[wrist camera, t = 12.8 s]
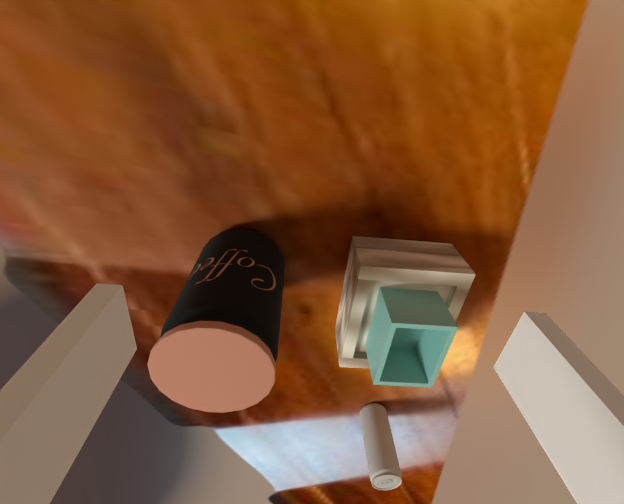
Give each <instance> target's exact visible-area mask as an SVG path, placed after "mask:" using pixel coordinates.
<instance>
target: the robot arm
mask: <svg viewBox="0 0 624 504" xmlns="http://www.w3.org/2000/svg"><path fill="white" fill-rule="evenodd" d="M136 349H137V347H136V342H135V338H134V334H133V329H132V325H131V321H130V316H129V312H128V307H127V303H126V299H125V294H124V290H123V286H122V285H110V284H96V285H95V286H94V287H93V288H92V289H91V290H90V292H89V293H88V294H87V295H86V296H85V297H84V298H83V299H82V300H81V302H80V303H79V304H78V305H77V306H76V307H75V308H74V309H73V310H72V312H71V313H70V314H69V315H68V316H67V317H66V318H65V319H64V320H63V321H62V323H61V324H60V325H59V326H58V327H57V328H56V329H55V331H54V332H53V333H52V334H51V335H50V336H49V337H48V338H47V339H46V340H45V342H44V343H43V344H42V345H41V346H40V347H39V348H38V349H37V350H36V352H35V353H34V354H33V355H32V356H31V357H30V358H29V359H28V360H27V361H26V363H25V364H24V365H23V366H22V367H21V368H20V369H19V370H18V371H17V373H16V374H15V375H14V376H13V377H12V378H11V379H10V380H9V382H8V383H7V384H6V385H5V386H4V387H3V388H2V389H1V390H0V504H50V502H51V500H52V498H53V497H54V495H55V493H56V491H57V490H58V488H59V486H60V484H61V483H62V481H63V479H64V477H65V476H66V474H67V472H68V470H69V468H70V467H71V465H72V463H73V461H74V459H75V458H76V456H77V454H78V452H79V451H80V449H81V447H82V445H83V444H84V442H85V440H86V438H87V436H88V435H89V433H90V431H91V429H92V428H93V426H94V424H95V422H96V420H97V418H98V417H99V415H100V413H101V411H102V410H103V408H104V406H105V404H106V403H107V401H108V399H109V397H110V396H111V394H112V392H113V390H114V388H115V387H116V385H117V383H118V381H119V380H120V378H121V376H122V374H123V373H124V371H125V369H126V367H127V365H128V364H129V362H130V360H131V358H132V357H133V355H134V353H135V351H136ZM494 369H495V370H496V372H497V374H498V375H499V377H500V378H501V380H502V382H503V384H504V385H505V387H506V388H507V390H508V392H509V393H510V395H511V397H512V398H513V400H514V401H515V403H516V405H517V406H518V408H519V410H520V411H521V413H522V415H523V416H524V418H525V419H526V421H527V422H528V424H529V426H530V428H531V429H532V431H533V432H534V434H535V436H536V437H537V439H538V441H539V442H540V444H541V445H542V447H543V449H544V450H545V452H546V453H547V455H548V457H549V459H550V460H551V462H552V463H553V465H554V467H555V468H556V470H557V472H558V473H559V475H560V476H561V478H562V480H563V481H564V483H565V484H566V486H567V488H568V489H569V491H570V492H571V494H572V496H573V497H574V499H575V501H576V503H577V504H624V396H623V394H622V393H621V392H620V391H619V390H618V389H617V388H616V387H615V386H614V385H613V384H612V383H611V382H610V381H609V380H608V379H607V378H606V376H605V375H604V374H603V373H602V372H601V371H600V370H599V369H598V368H597V367H596V366H595V365H594V364H593V363H592V362H591V361H590V360H589V359H588V357H587V356H586V355H585V354H584V353H583V352H582V351H581V350H580V349H579V348H578V347H577V346H576V345H575V344H574V343H573V342H572V341H571V339H570V338H569V337H568V336H567V335H566V334H565V333H564V332H563V331H562V330H561V329H560V328H559V327H558V326H557V325H556V324H555V323H554V322H553V320H552V319H551V318H550V317H549V316H548V315H547V314H546V313H537V312H536V313H535V312H524V313H523V315H522V317H521V318H520V320H519V322H518V324H517V326H516V328H515V329H514V331H513V333H512V335H511V337H510V338H509V340H508V342H507V344H506V346H505V347H504V349H503V351H502V353H501V355H500V356H499V358H498V360H497V362H496V364H495V366H494Z"/></svg>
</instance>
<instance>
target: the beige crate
mask: <svg viewBox="0 0 624 504" xmlns="http://www.w3.org/2000/svg"><path fill="white" fill-rule="evenodd" d="M475 275H476V274H475V273H474V271H473V270H472V269H471V268H470V266H469V265H468V264H467V263H466V261H465V260H464V259H463V258H462V255H460V254H459V252H458V251H457V250H456V249H455V247H454V246H453V245H452V244H449V243H437V242H424V241H412V240H400V239H387V238H375V237H362V236H352V241H351V246H350V251H349V257H348V262H347V268H346V273H345V278H344V284H343V289H342V294H341V300H340V305H339V311H338V316H337V321H336V327H335V334H336V342H337V343H336V345H337V350H338V359H339V367H351V368H370V367H369V363H368V358H367V353H366V349H365V343H366V339H367V335H368V331H369V327H370V323H371V319H372V316H373V312H374V308H375V304H376V300H377V296H378V292H379V288H380V287H384V288H398V289H412V290H427V291H438V293H439V294H440V296H441V298H442V299H443V301H444V303H445V305H446V306H447V308H448V310H449V312H450V313H451V315H452V317H453V319H454V320H455V322H456V320H457V317H458V315H459V313H460V310H461V308H462V306H463V303H464V301H465V299H466V296H467V294H468V292H469V289H470V287H471V285H472V282H473V280H474V278H475Z"/></svg>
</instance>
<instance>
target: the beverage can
mask: <svg viewBox="0 0 624 504" xmlns="http://www.w3.org/2000/svg"><path fill="white" fill-rule="evenodd" d="M360 420H361V426H362V432H363V439H364V445H365V451H366V457H367V464H368V470H369V476H370V480H371V482H372V486H373V487H374V488H375V489H378V490H391V489H394V488H397V487H398V486H400V485H401V483H402V479H401V477H402V475H401V471H400V467H399V463H398V458H397V454H396V450H395V446H394V441H393V437H392V433H391V429H390V425H389V420H388V416H387V412H386V409H385V408H384V407H383V406H382V405H380V404H378V403H370V404H367V405H365V406H364V407H363V408H362V409H361V411H360Z"/></svg>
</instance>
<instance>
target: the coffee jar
mask: <svg viewBox="0 0 624 504" xmlns="http://www.w3.org/2000/svg"><path fill="white" fill-rule="evenodd" d="M284 267H285V263H284V260H283V257H282V254H281V252H280V250H279V249H278V248H277V246H276V245H275V244H274V242H273V241H271V240H270V239H268V238H267V237H266V236H264V235H263V234H261V233H258V232H255V231H252V230H248V229H233V230H228V231H224V232H221V233H220V234H218V235H216V236H215V237H213V238H211V239H210V240H209V242H208V243H207V244H206V245H205V247H204V248H203V250H202V252H201V254H200V256H199V258H198V260H197V262H196V264H195V266H194V268H193V270H192V271H191V273H190V275H189V277H188V279H187V281H186V283H185V285H184V287H183V289H182V291H181V293H180V295H179V297H178V299H177V301H176V303H175V305H174V307H173V308H172V310H171V312H170V314H169V316H168V318H167V320H166V322H165V324H164V326H163V328H162V332H161V336H160V339H159V340H158V342H157V343H156V344H155V345H154V347H153V348H152V350H151V353H150V357H149V361H148V368H149V373H150V377H151V379H152V381H153V382H154V383H155V385H156V386H157V388H158V389H159V390H160V391H161V392H162V393H164V394H165V395H166V396H167V397H169V398H170V399H171V400H173V401H175V402H177V403H179V404H182V405H184V406H186V407H188V408H192V409H196V410H201V411H206V412H231V411H237V410H243V409H245V408H247V407H250V406H252V405H254V404H257V403H258V402H259V401H261V400H262V399H263V398H264V397H265V396H267V395H268V394H269V392H270V390H271V388H272V386H273V385H274V383H275V370H276V366H275V362H276V360H277V354H278V342H279V330H280V318H281V306H282V294H283V282H284Z"/></svg>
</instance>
